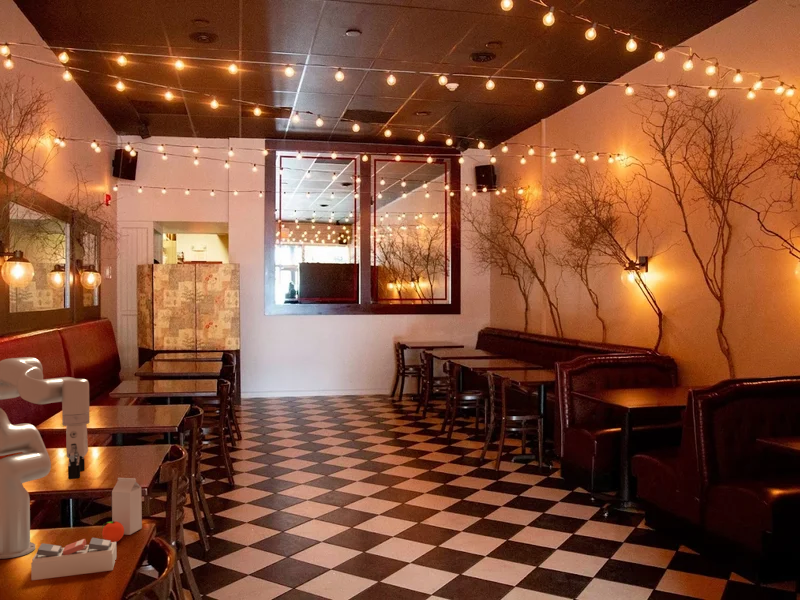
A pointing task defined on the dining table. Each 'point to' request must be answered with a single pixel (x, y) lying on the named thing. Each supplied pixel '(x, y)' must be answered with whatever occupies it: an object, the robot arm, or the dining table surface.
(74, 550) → the rocker mid
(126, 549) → the dining table surface
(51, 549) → the rocker
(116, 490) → the milk carton
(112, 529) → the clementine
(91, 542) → the plate
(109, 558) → the rocker switch panel
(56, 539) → the dining table surface
